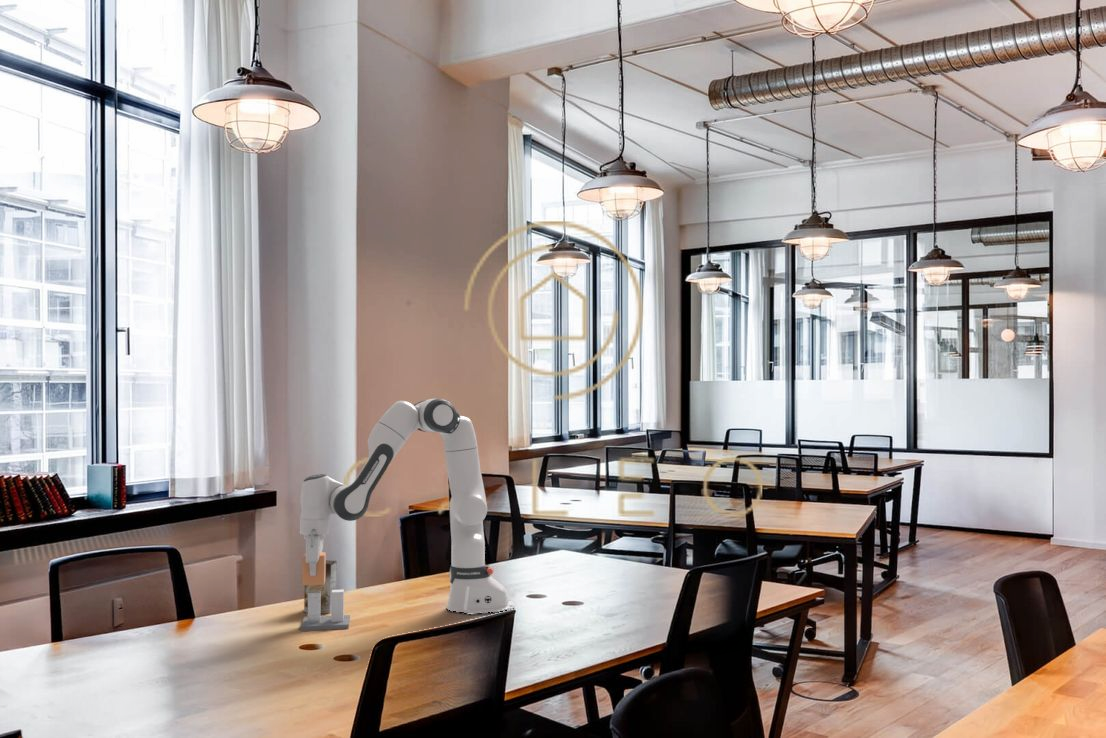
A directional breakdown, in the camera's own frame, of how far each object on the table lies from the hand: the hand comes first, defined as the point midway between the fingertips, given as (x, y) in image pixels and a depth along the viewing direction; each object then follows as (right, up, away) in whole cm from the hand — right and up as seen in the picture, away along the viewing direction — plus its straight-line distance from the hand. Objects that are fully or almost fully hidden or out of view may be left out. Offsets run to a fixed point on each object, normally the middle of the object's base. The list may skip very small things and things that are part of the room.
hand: (314, 572), depth 276 cm
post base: (+4, -16, 0) cm, 16 cm away
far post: (0, -16, 0) cm, 16 cm away
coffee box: (-3, -17, +18) cm, 25 cm away
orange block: (0, -3, 0) cm, 3 cm away
